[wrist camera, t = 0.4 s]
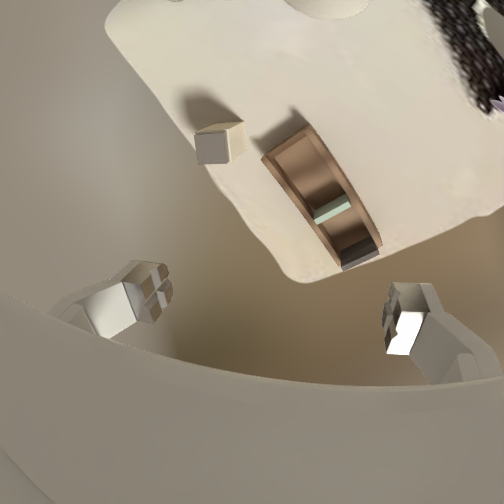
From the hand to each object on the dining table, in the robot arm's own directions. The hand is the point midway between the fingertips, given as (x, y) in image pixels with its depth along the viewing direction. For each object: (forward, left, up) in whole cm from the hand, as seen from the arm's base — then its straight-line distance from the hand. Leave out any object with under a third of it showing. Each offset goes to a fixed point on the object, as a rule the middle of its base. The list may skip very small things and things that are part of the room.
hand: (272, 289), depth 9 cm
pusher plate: (+13, +3, -36) cm, 38 cm away
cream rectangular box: (+1, -14, -37) cm, 39 cm away
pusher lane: (+11, +2, -37) cm, 39 cm away
